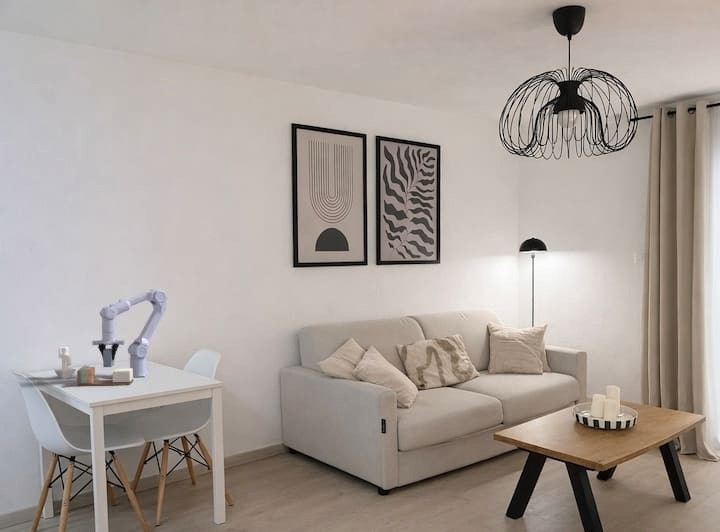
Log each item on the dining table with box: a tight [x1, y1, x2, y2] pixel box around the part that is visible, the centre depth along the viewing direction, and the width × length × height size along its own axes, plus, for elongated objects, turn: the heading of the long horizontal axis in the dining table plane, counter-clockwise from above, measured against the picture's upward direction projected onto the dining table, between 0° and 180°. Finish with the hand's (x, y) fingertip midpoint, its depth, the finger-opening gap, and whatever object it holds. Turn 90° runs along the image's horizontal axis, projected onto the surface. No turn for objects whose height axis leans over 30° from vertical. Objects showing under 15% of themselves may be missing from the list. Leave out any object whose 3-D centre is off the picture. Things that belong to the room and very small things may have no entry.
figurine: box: [54, 346, 77, 379], centre depth 302 cm, size 7×9×15 cm
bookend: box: [112, 367, 134, 382], centre depth 290 cm, size 7×8×5 cm
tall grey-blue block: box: [102, 347, 115, 368], centre depth 297 cm, size 6×4×8 cm, turn 9°
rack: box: [76, 365, 134, 387], centre depth 289 cm, size 8×23×8 cm, turn 99°
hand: (108, 359), depth 298 cm, fingers closed on tall grey-blue block, 3 cm apart
